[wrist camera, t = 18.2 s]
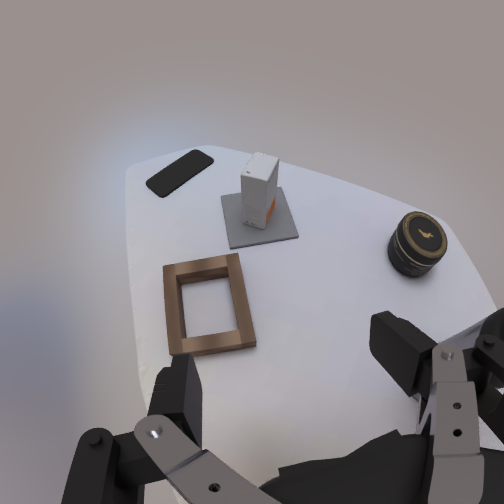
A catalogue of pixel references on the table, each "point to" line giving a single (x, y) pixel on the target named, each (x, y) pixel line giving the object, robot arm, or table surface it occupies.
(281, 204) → the rubber mat
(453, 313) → the table surface
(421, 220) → the jar
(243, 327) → the brown wooden rectangular frame
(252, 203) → the skincare box
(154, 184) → the phone
